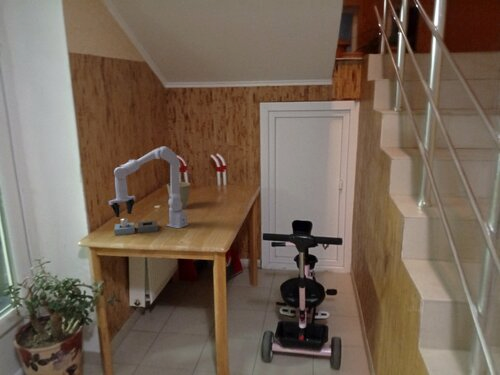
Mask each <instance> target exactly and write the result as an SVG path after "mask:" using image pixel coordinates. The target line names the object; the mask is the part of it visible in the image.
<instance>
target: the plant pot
mask: <svg viewBox="0 0 500 375" xmlns="http://www.w3.org/2000/svg"><path fill="white" fill-rule="evenodd" d="M166 187H167V193H168V197H170V193H171V182H170V183H167V184H166ZM190 192H191V183H190V182H187V181H180V197H181V202H182V210H185V209H186V208H187V204H188V202H189V198H190Z"/></svg>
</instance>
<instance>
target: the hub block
mask: <svg viewBox="0 0 500 375" xmlns="http://www.w3.org/2000/svg"><path fill="white" fill-rule="evenodd" d="M135 226H136V225H135V222H128V227H124V228H121V223H115V224H114V229H113V230H114V236H121V235H122V236H123V235H124V236H125V235H133V234H135V233H136V229H135V228H136V227H135Z"/></svg>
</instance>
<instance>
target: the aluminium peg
mask: <svg viewBox="0 0 500 375" xmlns="http://www.w3.org/2000/svg"><path fill="white" fill-rule="evenodd" d="M119 221H120V224H121V228H124V227H128V223H129V220H128V217H122V218H120V220H119Z"/></svg>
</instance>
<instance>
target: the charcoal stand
mask: <svg viewBox="0 0 500 375" xmlns="http://www.w3.org/2000/svg"><path fill="white" fill-rule="evenodd" d="M137 228H138V229H137V230H138V233H139V234H140V233H141V234H143V233H151V232H158V231H159V226H158V220H147V221H138V222H137Z"/></svg>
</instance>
